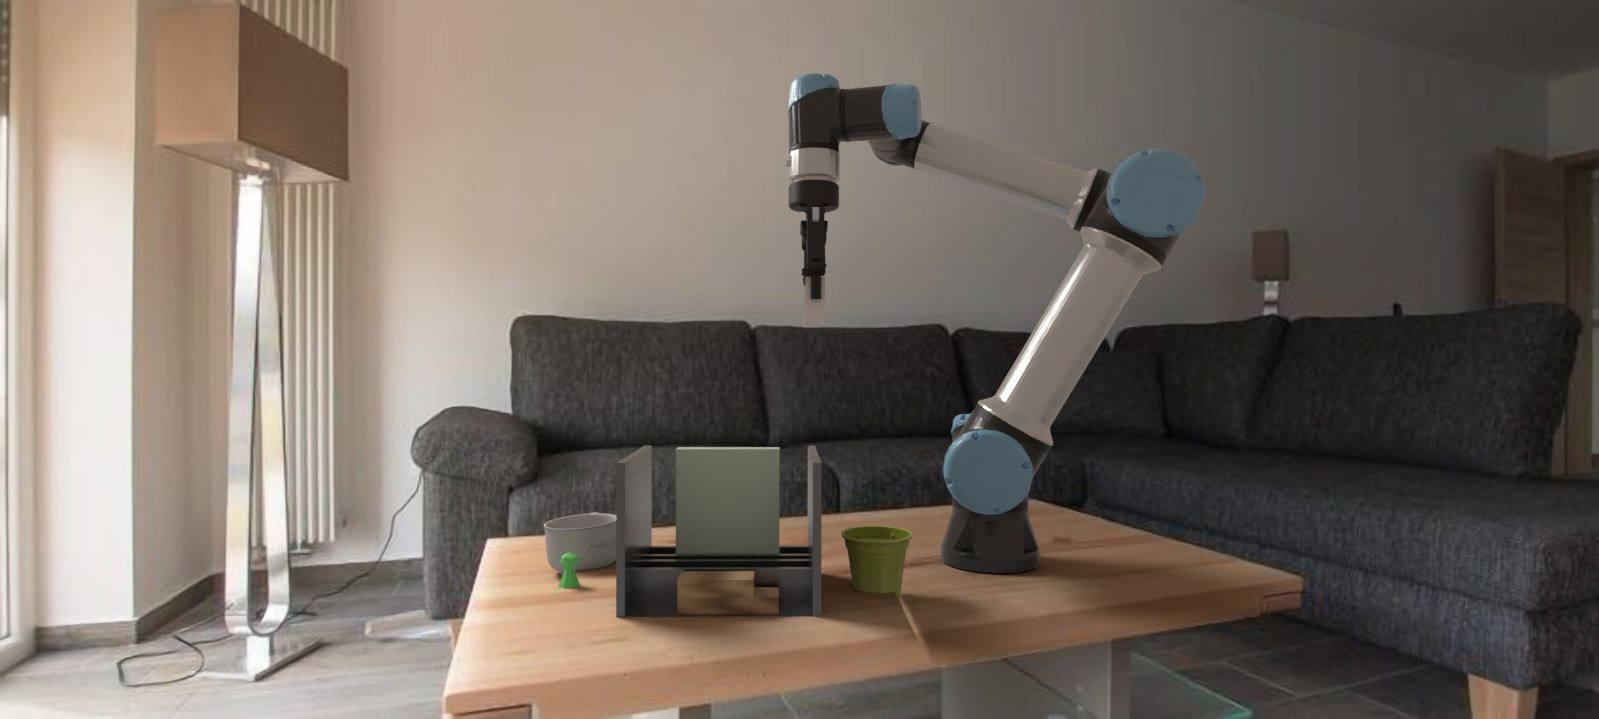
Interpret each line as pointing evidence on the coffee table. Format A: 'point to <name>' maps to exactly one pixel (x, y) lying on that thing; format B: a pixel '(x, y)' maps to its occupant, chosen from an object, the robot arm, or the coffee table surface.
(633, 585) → the rack
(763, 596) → the offcut lower
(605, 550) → the teacup
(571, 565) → the game piece
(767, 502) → the sage panel
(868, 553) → the plant pot
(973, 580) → the coffee table surface
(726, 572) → the offcut upper
